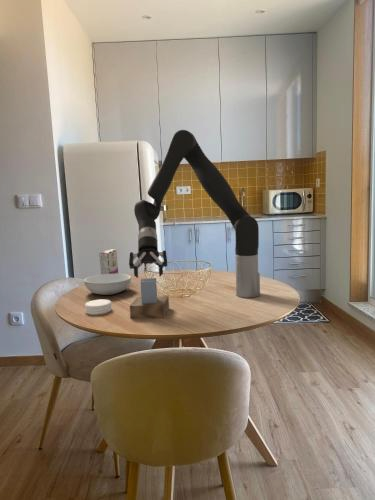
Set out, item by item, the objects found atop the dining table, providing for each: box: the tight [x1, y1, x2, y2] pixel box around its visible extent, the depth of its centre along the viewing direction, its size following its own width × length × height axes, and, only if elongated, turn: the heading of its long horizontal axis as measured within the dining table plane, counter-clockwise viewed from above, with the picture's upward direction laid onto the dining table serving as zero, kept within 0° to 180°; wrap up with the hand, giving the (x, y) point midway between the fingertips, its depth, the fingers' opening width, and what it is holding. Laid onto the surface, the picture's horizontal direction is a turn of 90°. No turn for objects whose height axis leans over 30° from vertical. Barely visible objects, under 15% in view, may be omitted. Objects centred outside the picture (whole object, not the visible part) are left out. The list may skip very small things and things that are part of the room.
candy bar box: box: [98, 248, 119, 275], centre depth 195 cm, size 11×5×16 cm, turn 168°
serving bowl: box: [83, 273, 132, 296], centre depth 176 cm, size 21×21×7 cm
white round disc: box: [84, 298, 113, 316], centre depth 149 cm, size 10×10×4 cm
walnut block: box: [129, 296, 170, 319], centre depth 143 cm, size 12×12×5 cm
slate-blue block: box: [140, 277, 158, 304], centre depth 142 cm, size 6×6×8 cm
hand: (148, 275), depth 143 cm, fingers open, 8 cm apart
